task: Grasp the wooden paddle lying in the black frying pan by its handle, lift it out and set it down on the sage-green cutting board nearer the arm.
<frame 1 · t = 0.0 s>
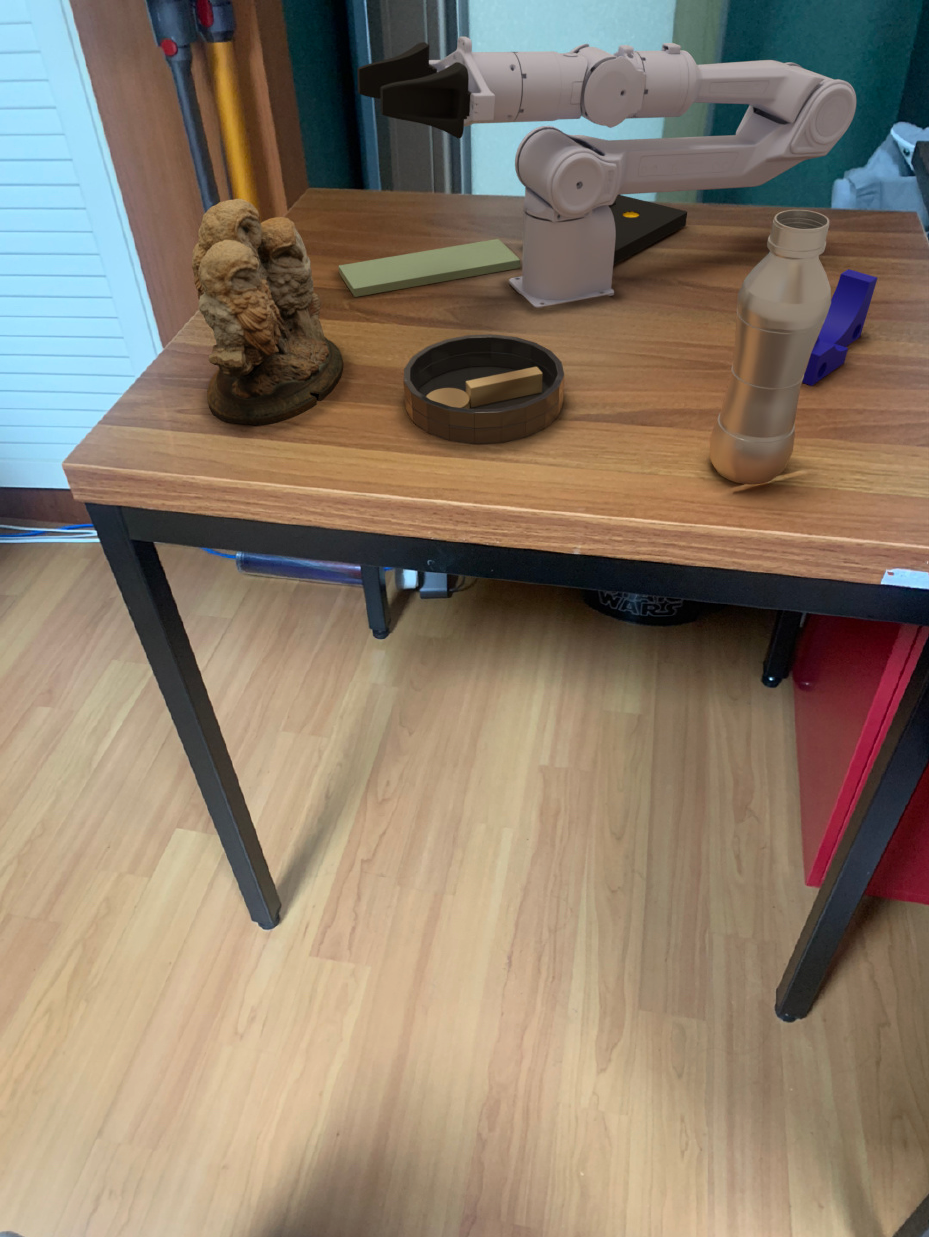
hand: (369, 90, 80), 22 cm above the table, tool horizontal, fingers open, 7 cm apart
blue curved bracket: (822, 357, 87), on the table
pan: (483, 406, 81), on the table
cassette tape: (606, 240, 110), on the table
wooden paddle: (447, 408, 80), resting on pan
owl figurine: (277, 388, 85), on the table
board: (429, 271, 104), on the table
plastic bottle: (744, 473, 73), on the table
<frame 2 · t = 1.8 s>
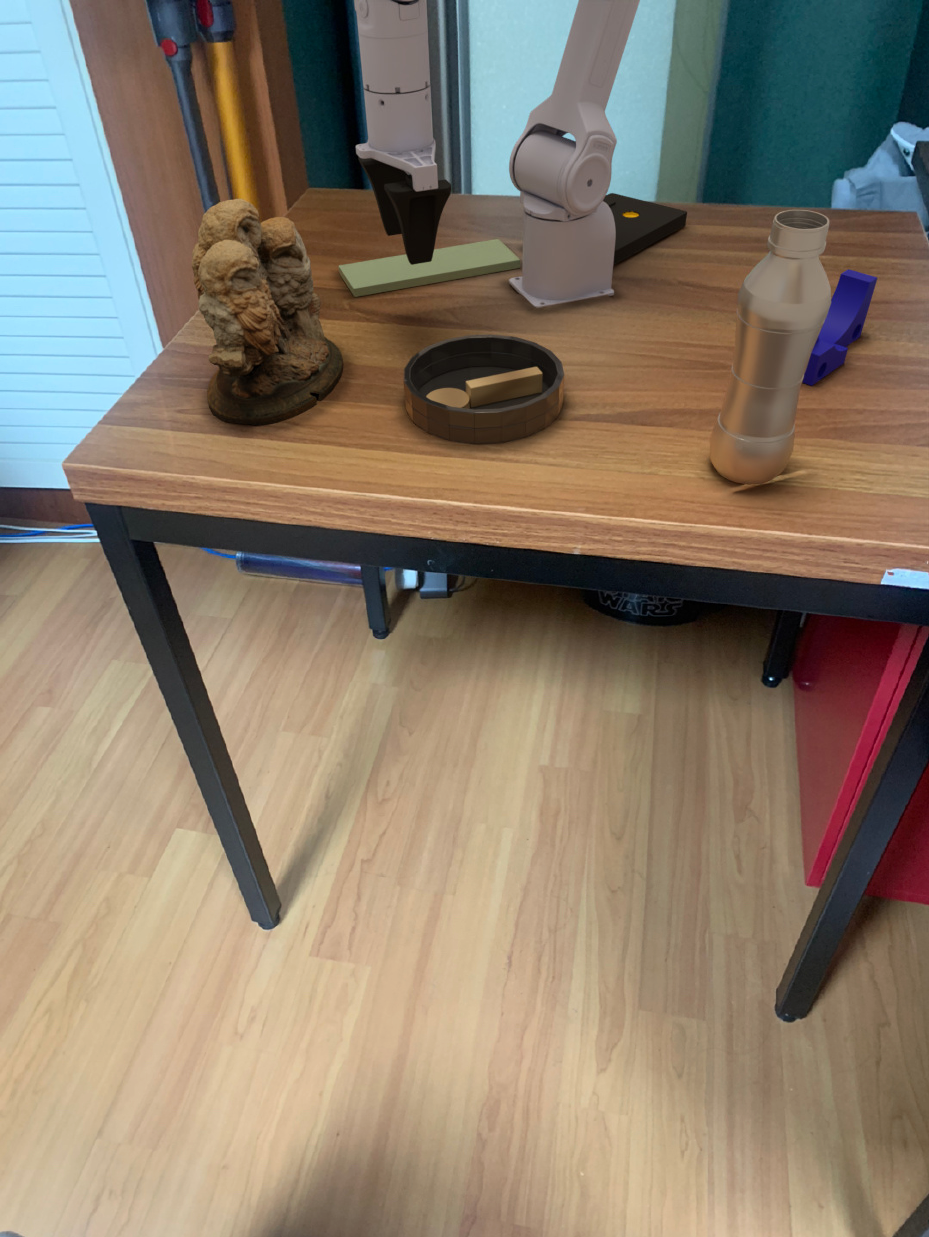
hand: (408, 247, 85), 9 cm above the table, tool pointing down, fingers open, 7 cm apart
nothing on the table moved.
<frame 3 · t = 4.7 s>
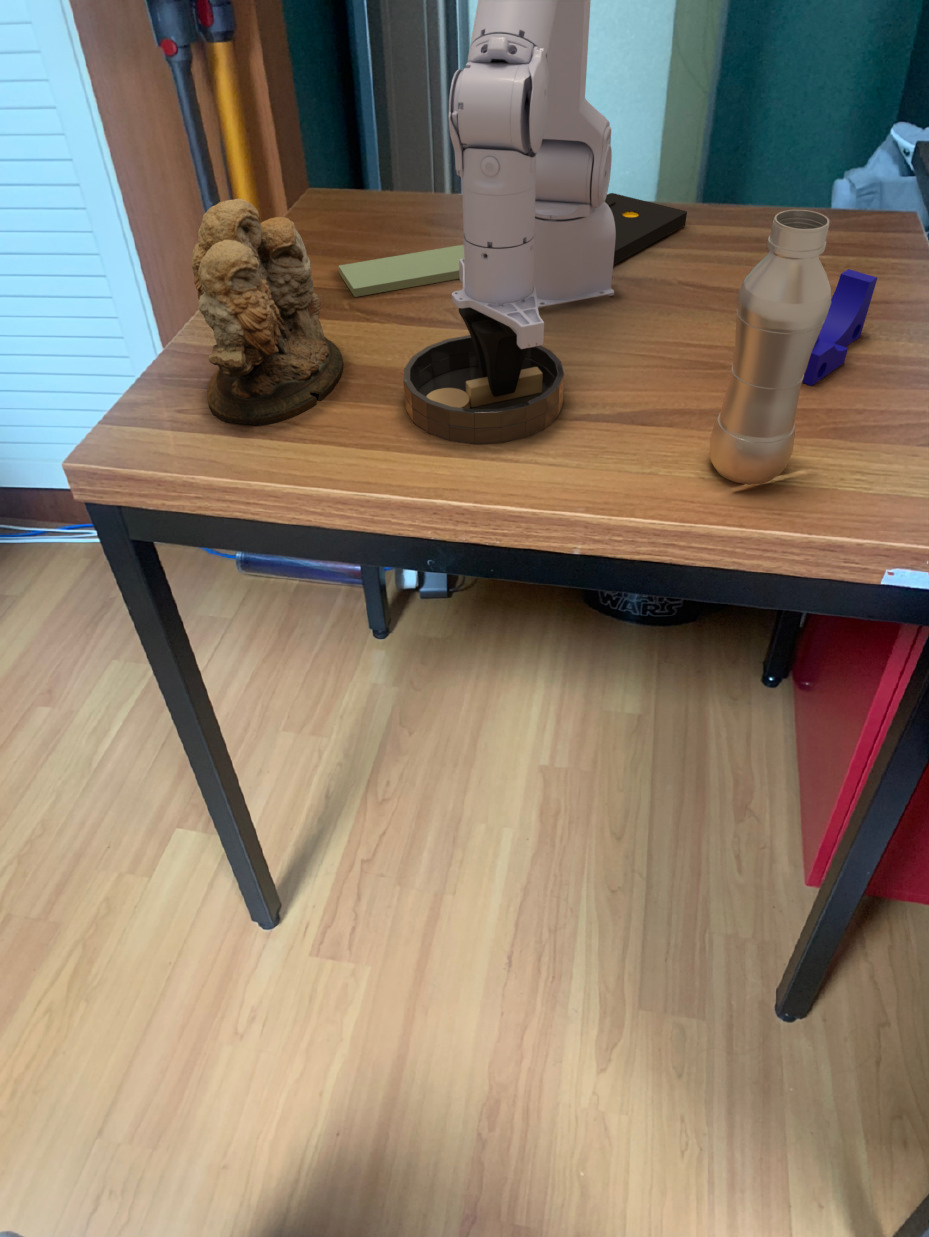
hand: (499, 387, 81), 2 cm above the table, tool pointing down, fingers closed on wooden paddle, 1 cm apart
wooden paddle: (447, 408, 80), point 1 cm above the table, touching gripper, pan
everything else where it was.
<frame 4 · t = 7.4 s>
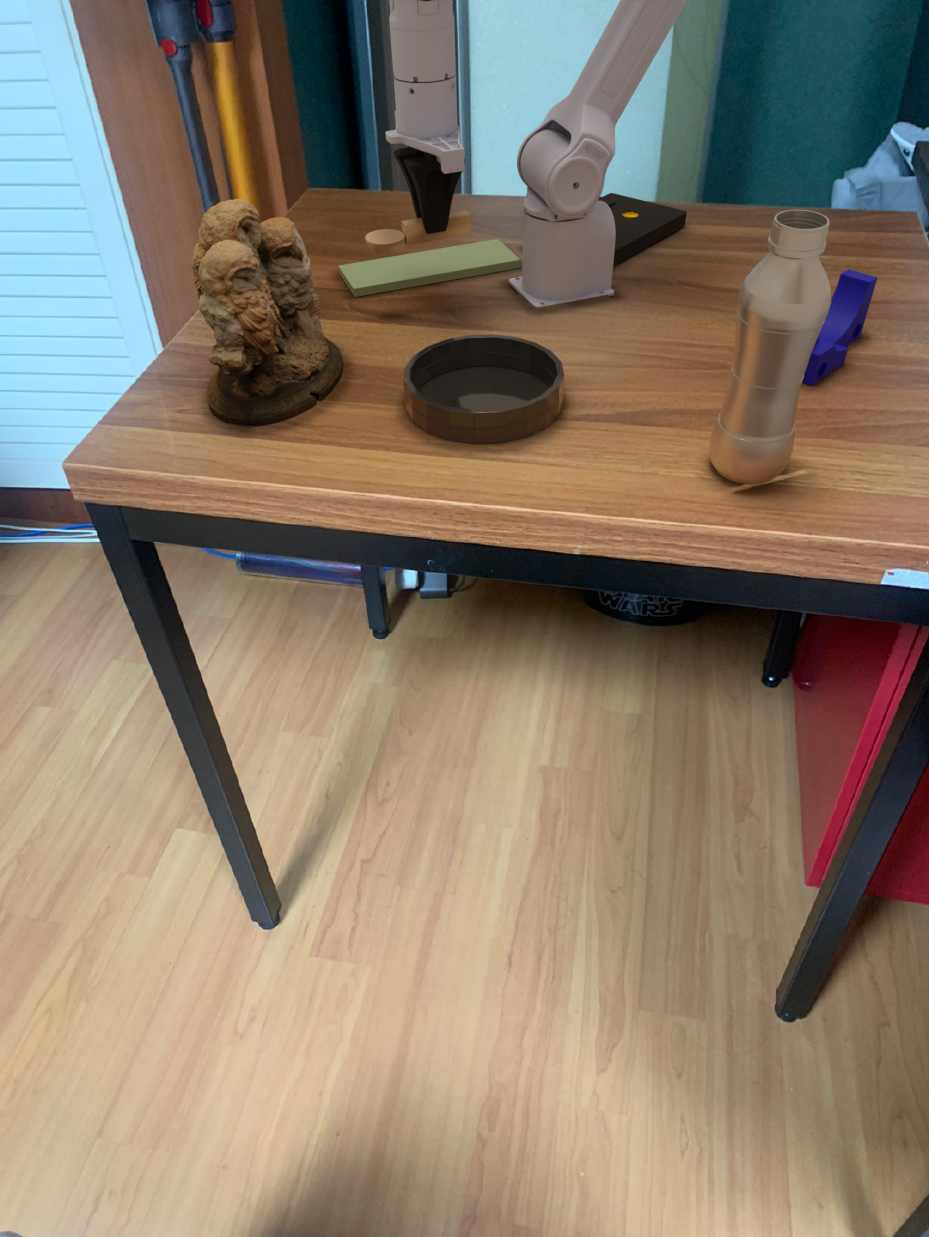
hand: (432, 228, 91), 9 cm above the table, tool pointing down, fingers closed on wooden paddle
wooden paddle: (385, 246, 90), point 8 cm above the table, touching gripper
everything else where it was.
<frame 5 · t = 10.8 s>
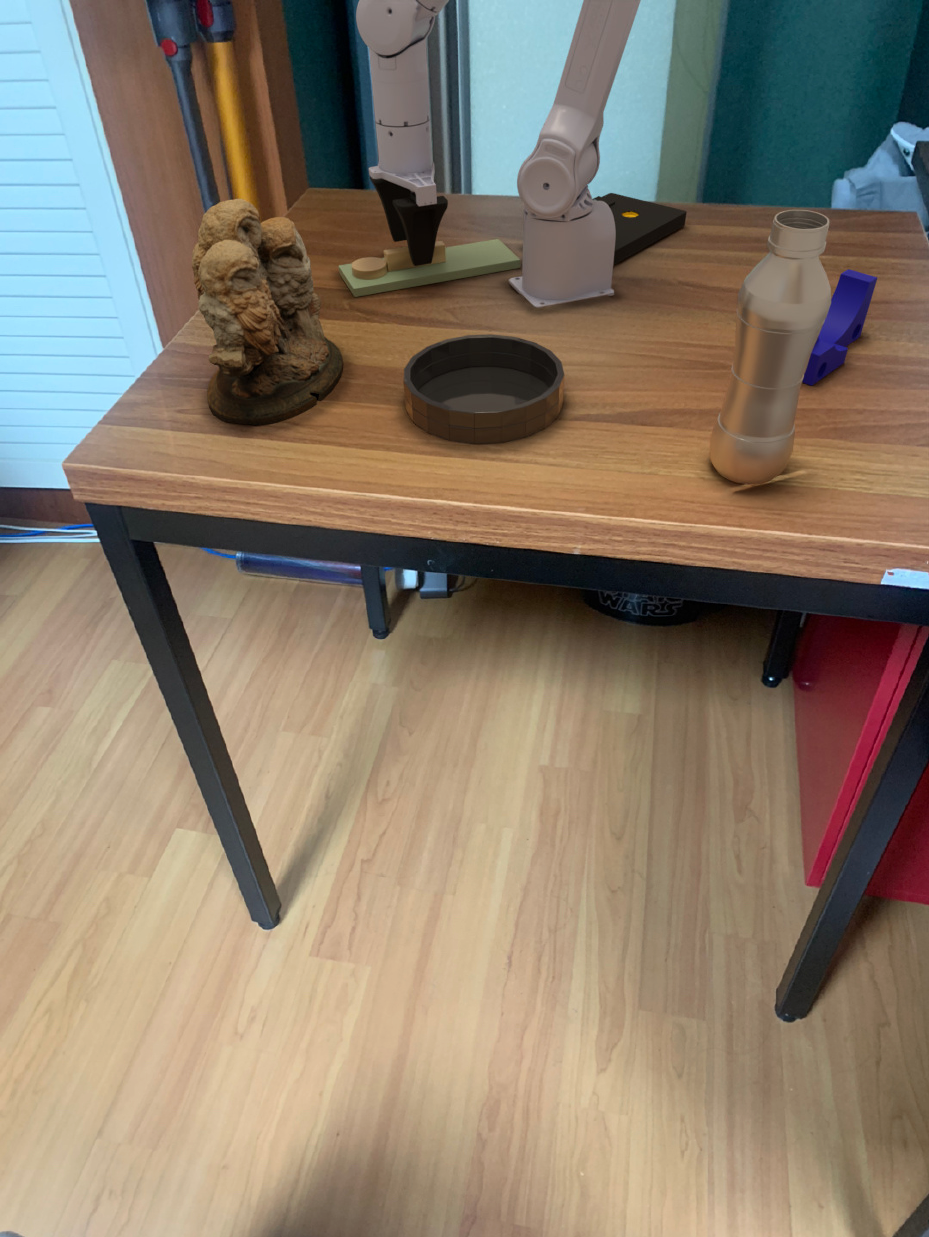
hand: (411, 251, 102), 3 cm above the table, tool pointing down, fingers open, 7 cm apart
wooden paddle: (369, 272, 102), point 1 cm above the table, touching board
everything else where it was.
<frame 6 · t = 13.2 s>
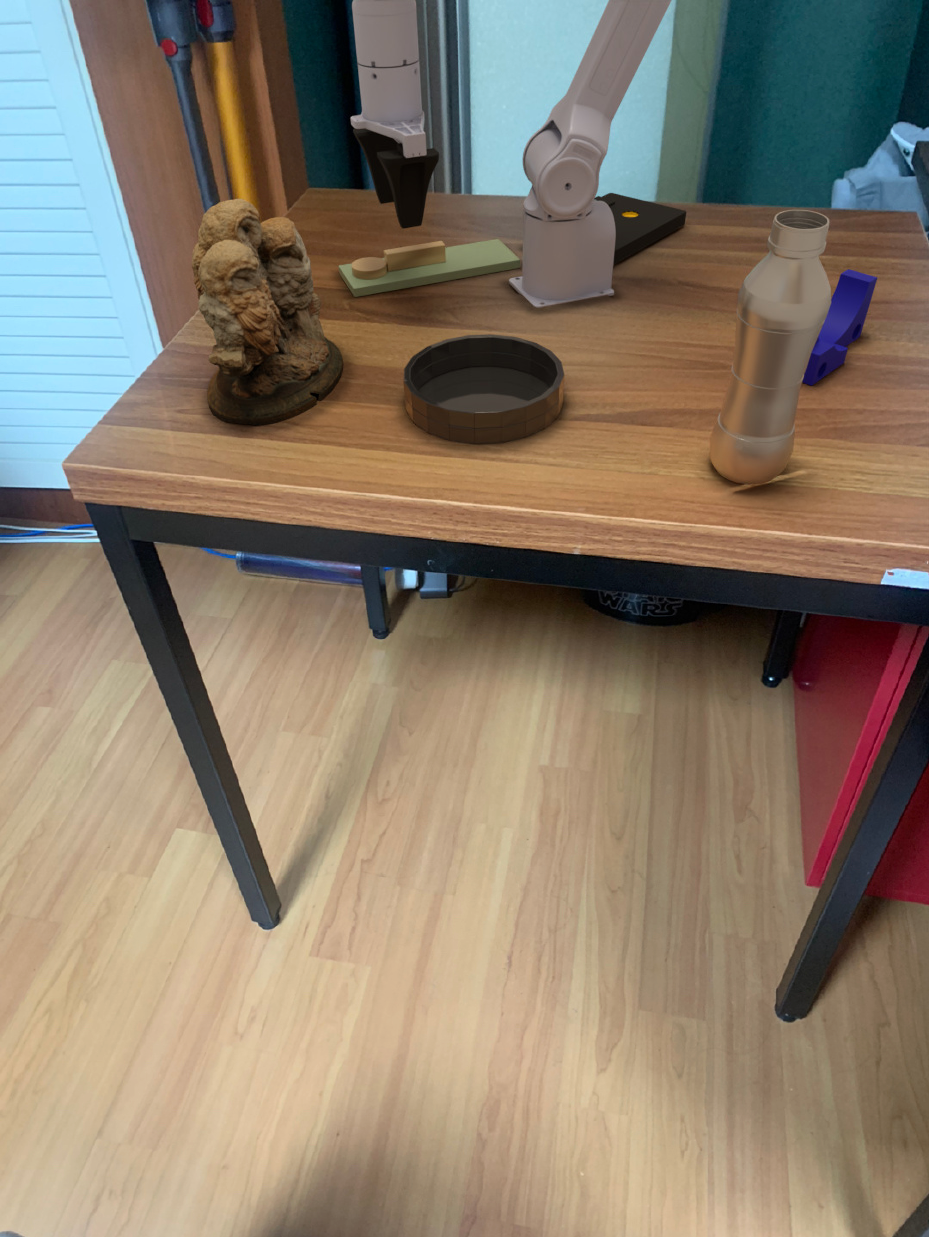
hand: (399, 213, 92), 9 cm above the table, tool pointing down, fingers open, 7 cm apart
nothing on the table moved.
at the end: wooden paddle inside the target area on the board (5.1 cm from its centre), point 1.0 cm above the board's base; wooden paddle touching board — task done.
